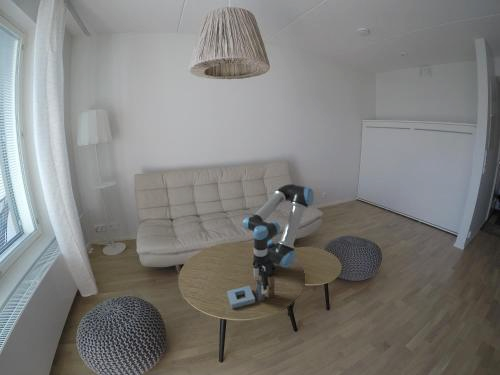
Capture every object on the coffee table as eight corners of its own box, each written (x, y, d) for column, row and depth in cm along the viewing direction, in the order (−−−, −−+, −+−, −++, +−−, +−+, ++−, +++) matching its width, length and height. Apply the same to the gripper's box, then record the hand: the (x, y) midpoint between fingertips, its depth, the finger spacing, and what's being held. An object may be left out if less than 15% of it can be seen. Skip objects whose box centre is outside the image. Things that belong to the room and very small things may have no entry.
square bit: (262, 295, 144) (262, 279, 140) (264, 300, 140) (264, 283, 136) (256, 296, 142) (256, 280, 139) (258, 301, 139) (258, 285, 135)
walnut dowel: (272, 293, 145) (273, 276, 141) (275, 297, 142) (275, 280, 138) (267, 294, 144) (267, 278, 140) (269, 298, 141) (269, 282, 137)
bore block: (249, 289, 148) (249, 285, 147) (255, 302, 138) (255, 298, 137) (227, 294, 144) (227, 290, 143) (231, 308, 134) (231, 304, 133)
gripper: (247, 243, 141) (247, 273, 148) (261, 268, 119) (261, 302, 125) (259, 241, 144) (258, 270, 150) (275, 265, 121) (274, 299, 127)
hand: (260, 285), depth 138 cm, fingers open, 13 cm apart
